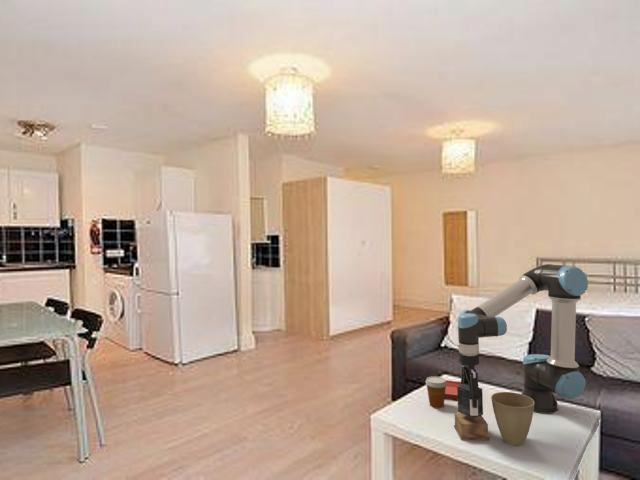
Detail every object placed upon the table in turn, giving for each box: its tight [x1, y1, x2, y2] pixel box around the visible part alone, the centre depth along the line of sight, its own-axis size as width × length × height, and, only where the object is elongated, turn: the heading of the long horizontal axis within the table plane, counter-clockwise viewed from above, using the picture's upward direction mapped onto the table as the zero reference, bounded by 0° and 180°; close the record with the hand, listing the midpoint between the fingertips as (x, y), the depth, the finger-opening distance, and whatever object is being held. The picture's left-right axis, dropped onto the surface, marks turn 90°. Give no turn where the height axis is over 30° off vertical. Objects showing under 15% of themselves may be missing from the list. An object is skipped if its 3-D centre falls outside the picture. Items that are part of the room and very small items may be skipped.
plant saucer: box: [445, 379, 462, 401], centre depth 199 cm, size 18×18×3 cm
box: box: [457, 383, 484, 418], centre depth 159 cm, size 8×6×11 cm
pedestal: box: [453, 412, 490, 441], centre depth 159 cm, size 11×11×6 cm
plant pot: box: [490, 391, 535, 446], centre depth 153 cm, size 15×15×16 cm
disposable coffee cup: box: [425, 376, 447, 409], centre depth 186 cm, size 10×10×12 cm
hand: (470, 409), depth 159 cm, fingers closed on box, 9 cm apart
